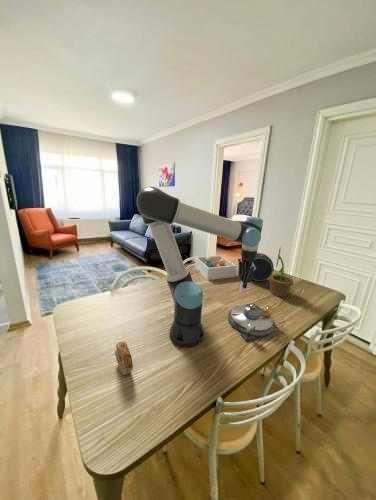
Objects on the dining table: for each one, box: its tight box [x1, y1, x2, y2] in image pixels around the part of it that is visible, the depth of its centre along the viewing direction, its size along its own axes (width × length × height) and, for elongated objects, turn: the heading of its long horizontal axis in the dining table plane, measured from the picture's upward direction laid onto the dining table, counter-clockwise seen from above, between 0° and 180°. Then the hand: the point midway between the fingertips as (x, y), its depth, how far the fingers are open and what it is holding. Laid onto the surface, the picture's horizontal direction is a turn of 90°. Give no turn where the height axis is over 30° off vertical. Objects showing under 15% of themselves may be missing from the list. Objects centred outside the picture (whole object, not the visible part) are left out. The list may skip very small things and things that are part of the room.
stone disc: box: [114, 341, 134, 376], centre depth 73 cm, size 10×4×10 cm, turn 35°
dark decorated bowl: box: [252, 252, 275, 282], centre depth 151 cm, size 11×20×20 cm, turn 78°
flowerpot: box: [268, 247, 294, 298], centre depth 131 cm, size 14×14×30 cm
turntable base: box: [227, 310, 276, 339], centre depth 104 cm, size 22×22×2 cm
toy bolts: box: [204, 256, 226, 268], centre depth 162 cm, size 18×17×12 cm
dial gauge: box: [240, 323, 257, 342], centre depth 92 cm, size 5×4×8 cm
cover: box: [243, 303, 262, 320], centre depth 102 cm, size 8×8×6 cm
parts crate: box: [194, 255, 237, 281], centre depth 162 cm, size 23×24×9 cm
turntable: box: [230, 304, 274, 332], centre depth 102 cm, size 20×20×6 cm
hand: (242, 292), depth 108 cm, fingers closed
